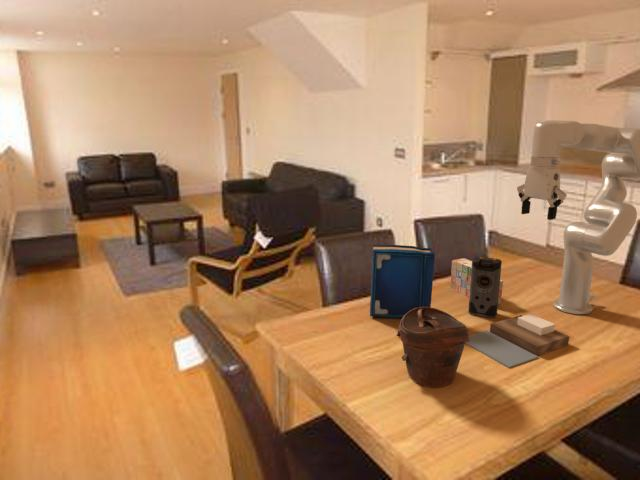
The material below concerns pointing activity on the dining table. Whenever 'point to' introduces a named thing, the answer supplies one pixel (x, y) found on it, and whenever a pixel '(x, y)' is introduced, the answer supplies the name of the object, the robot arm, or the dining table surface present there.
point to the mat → (499, 349)
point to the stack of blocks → (465, 277)
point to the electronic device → (484, 286)
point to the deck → (528, 337)
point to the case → (432, 345)
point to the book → (400, 279)
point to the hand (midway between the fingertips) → (538, 216)
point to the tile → (536, 324)
